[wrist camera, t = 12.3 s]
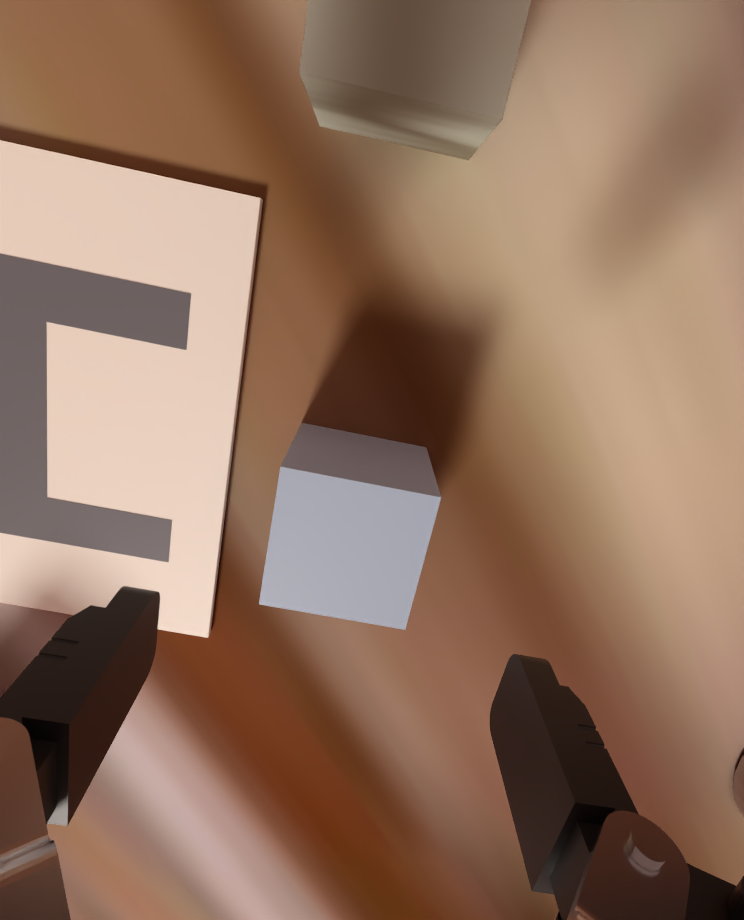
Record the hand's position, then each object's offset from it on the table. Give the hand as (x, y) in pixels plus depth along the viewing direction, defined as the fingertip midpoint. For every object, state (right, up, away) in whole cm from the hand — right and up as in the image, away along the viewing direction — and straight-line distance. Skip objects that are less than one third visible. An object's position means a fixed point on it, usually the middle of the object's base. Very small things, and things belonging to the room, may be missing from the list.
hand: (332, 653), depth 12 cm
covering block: (+2, +17, +5) cm, 18 cm away
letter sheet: (-12, +6, +8) cm, 16 cm away
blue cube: (0, +3, +10) cm, 10 cm away
